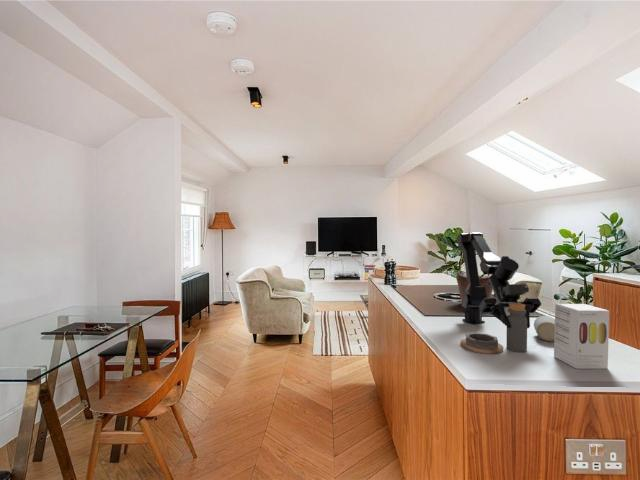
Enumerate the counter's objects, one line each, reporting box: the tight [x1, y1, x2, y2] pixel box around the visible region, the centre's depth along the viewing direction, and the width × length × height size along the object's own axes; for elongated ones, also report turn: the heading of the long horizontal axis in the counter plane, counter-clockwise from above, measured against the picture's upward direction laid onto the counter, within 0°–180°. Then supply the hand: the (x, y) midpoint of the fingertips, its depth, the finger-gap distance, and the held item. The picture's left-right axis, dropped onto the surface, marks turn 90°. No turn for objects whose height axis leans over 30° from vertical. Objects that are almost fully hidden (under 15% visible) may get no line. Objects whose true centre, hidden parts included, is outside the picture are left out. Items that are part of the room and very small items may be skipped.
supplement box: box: [553, 303, 610, 370], centre depth 98 cm, size 10×9×17 cm
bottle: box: [506, 303, 528, 353], centre depth 109 cm, size 6×6×15 cm
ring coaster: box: [460, 332, 504, 355], centre depth 112 cm, size 13×13×3 cm
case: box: [455, 269, 493, 302], centre depth 173 cm, size 18×20×18 cm
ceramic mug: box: [533, 315, 555, 342], centre depth 119 cm, size 11×8×8 cm
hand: (519, 327), depth 108 cm, fingers closed on bottle, 6 cm apart
